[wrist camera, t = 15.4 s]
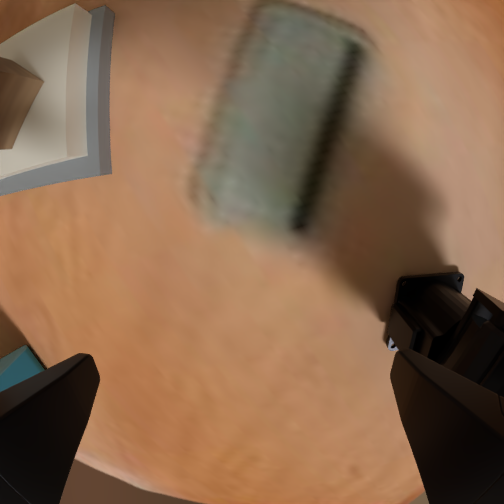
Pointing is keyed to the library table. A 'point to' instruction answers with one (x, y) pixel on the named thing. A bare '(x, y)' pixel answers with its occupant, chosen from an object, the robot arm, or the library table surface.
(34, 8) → the library table surface
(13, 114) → the walnut block
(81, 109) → the tower top slab
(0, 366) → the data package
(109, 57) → the tower base slab
